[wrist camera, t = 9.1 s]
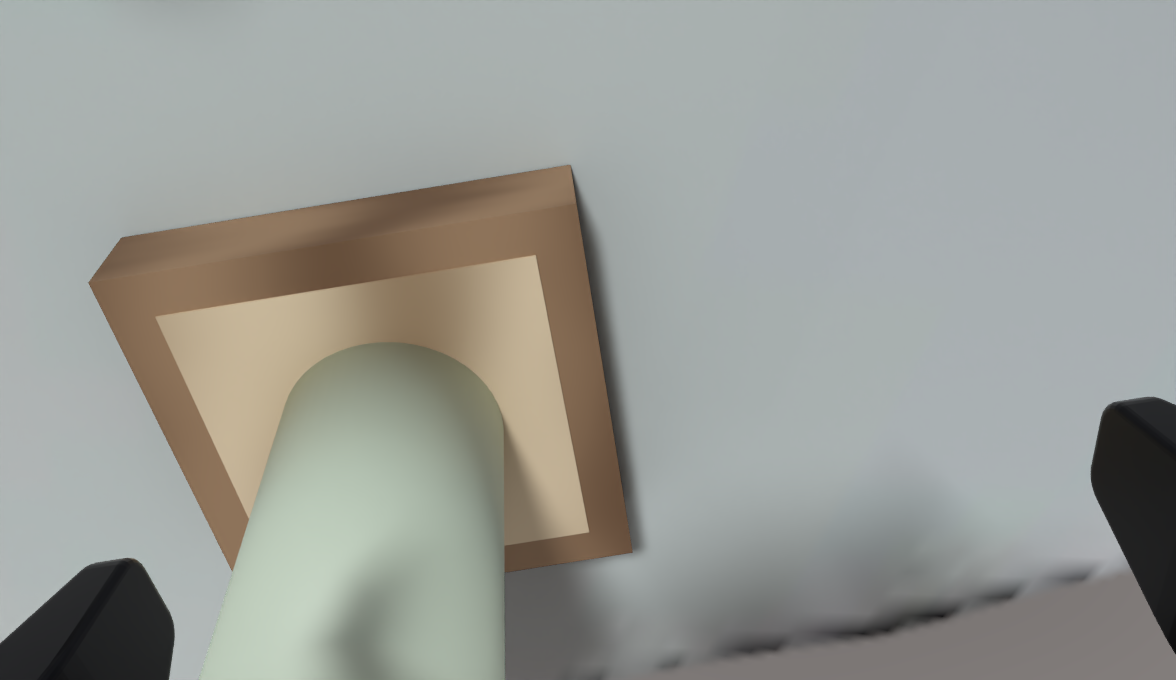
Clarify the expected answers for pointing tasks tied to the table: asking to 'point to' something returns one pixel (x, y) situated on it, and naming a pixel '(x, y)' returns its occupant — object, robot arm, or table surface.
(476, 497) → the sage capsule
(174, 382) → the plinth
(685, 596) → the table surface
